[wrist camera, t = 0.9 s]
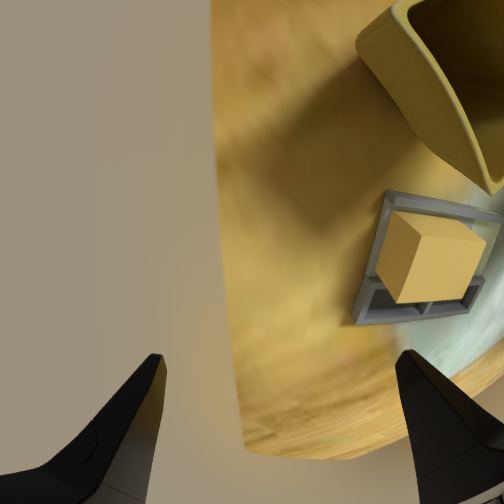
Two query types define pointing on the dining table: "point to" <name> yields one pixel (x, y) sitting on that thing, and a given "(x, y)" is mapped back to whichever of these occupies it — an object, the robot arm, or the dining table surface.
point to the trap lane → (387, 310)
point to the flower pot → (446, 78)
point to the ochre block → (428, 257)
